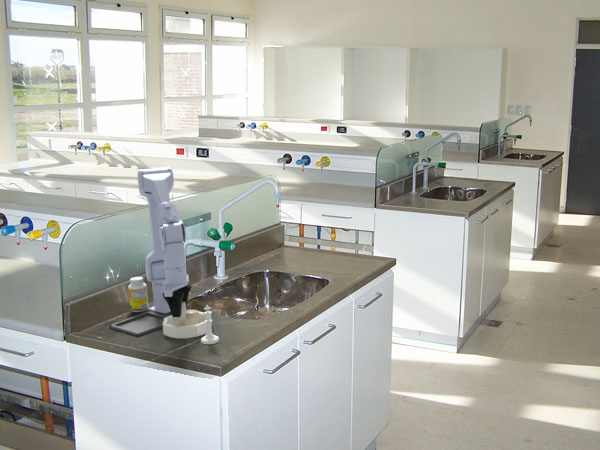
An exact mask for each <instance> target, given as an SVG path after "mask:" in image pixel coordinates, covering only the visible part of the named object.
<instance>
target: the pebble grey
mask: <svg viewBox="0 0 600 450" xmlns="http://www.w3.org/2000/svg"><path fill="white" fill-rule="evenodd" d="M186 311H187V309H186V303H185V302H184V301H182V305H181V316H180V317H173V316H172V320H173V321H183V320H186V319H187V314H186Z"/></svg>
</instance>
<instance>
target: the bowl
mask: <svg viewBox="0 0 600 450" xmlns="http://www.w3.org/2000/svg"><path fill="white" fill-rule="evenodd" d="M198 312H199V324H196V325H191V326H185V320H183V321H173V320H172V314H171V315H168V316H167V317H166V318H164V321H163V327H162V331H163V335H164V336H166V337H168V338H173V339H192V338H197V337H200V336H203V335H206V333H207V323H205V320H206V317H205V315H204V312H202V311H199V310H198ZM210 319H211V320H212V317H211V318H210Z"/></svg>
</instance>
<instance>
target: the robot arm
mask: <svg viewBox="0 0 600 450" xmlns="http://www.w3.org/2000/svg"><path fill="white" fill-rule="evenodd" d="M174 184H175V181H174V172H173V168H171V167H170V166H167V167H158V168H145V169H141V168H140V169H138V170H137V185H138V192H139V195H140V196H141V197H144V198H146V200H147V204H148V209H149V210H148V211H149V220H150V229H151V230H150V231H151V238H152V240H151V241H152V247H153V248H152V249H153V250H151V252H150V253H148V254H147V255H146V257H145V259H144V262H145V276H146V280H147V282H150V283H151V285H152V297H153V305H152V306H151V307H149V308H148V309H147V310H150V311H153V312H156V313H157V312H158V313H162V314H167V313H170V314H171V315H172V316H173V317H180V316H181V305H182V301H184V302H185V303H186V310H187V308H188V301H189V296H190V292H191V289H192V284H189V282H190V275H189V274H188V273H187V265H186V264H187V262H186V255H185V253H186V251H185V243H186V241H187V240H186V239H187V233H186V228H185V225H184V224H185V223H184V222H183V221H182V219H180V217H179V213H178V210H177V206H176V205H175V204H173V203H172V202H171V198H170V193H171V192H172V189H173V186H174Z"/></svg>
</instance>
